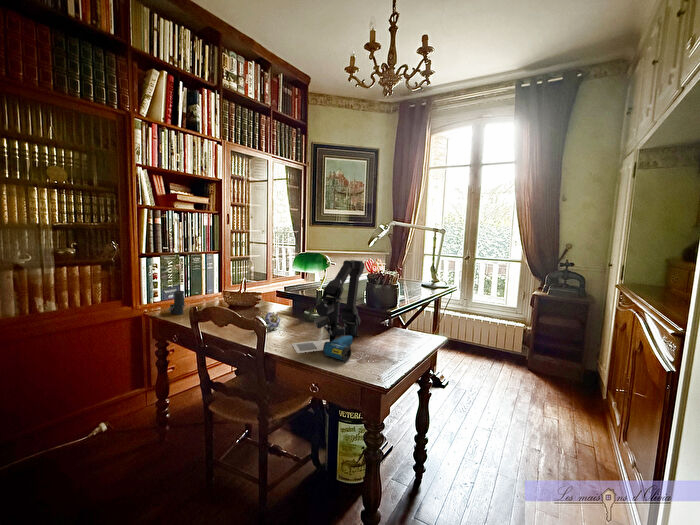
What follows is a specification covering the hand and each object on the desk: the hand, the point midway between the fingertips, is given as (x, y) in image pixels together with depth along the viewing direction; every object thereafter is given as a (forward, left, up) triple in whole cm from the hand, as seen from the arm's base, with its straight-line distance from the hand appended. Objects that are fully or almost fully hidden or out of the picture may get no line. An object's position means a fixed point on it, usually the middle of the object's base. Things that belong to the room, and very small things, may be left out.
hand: (331, 342), depth 149 cm
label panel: (+5, -3, -2) cm, 6 cm away
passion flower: (+23, -34, -2) cm, 41 cm away
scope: (+71, -77, -2) cm, 105 cm away
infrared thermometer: (-3, +8, -2) cm, 9 cm away
